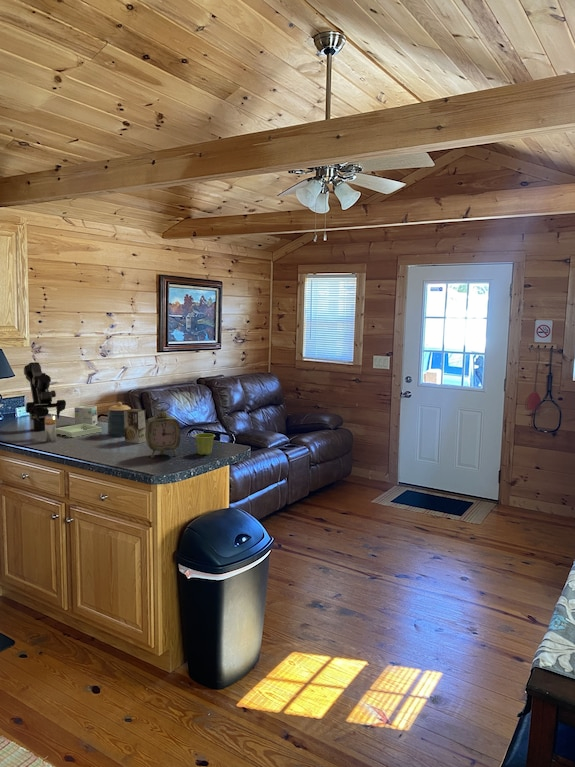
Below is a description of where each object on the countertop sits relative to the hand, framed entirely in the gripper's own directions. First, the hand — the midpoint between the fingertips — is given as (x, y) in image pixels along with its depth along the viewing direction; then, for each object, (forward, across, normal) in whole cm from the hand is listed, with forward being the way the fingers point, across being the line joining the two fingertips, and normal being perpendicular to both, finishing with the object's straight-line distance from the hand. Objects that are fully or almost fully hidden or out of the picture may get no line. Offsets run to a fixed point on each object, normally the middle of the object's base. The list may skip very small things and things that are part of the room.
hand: (48, 419), depth 291 cm
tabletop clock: (+49, +38, -33) cm, 70 cm away
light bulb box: (-13, +25, +28) cm, 40 cm away
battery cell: (+10, 0, +5) cm, 11 cm away
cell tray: (0, +16, +14) cm, 22 cm away
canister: (+11, +34, +4) cm, 37 cm away
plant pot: (+53, +56, -37) cm, 86 cm away
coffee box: (+25, +36, -10) cm, 45 cm away
